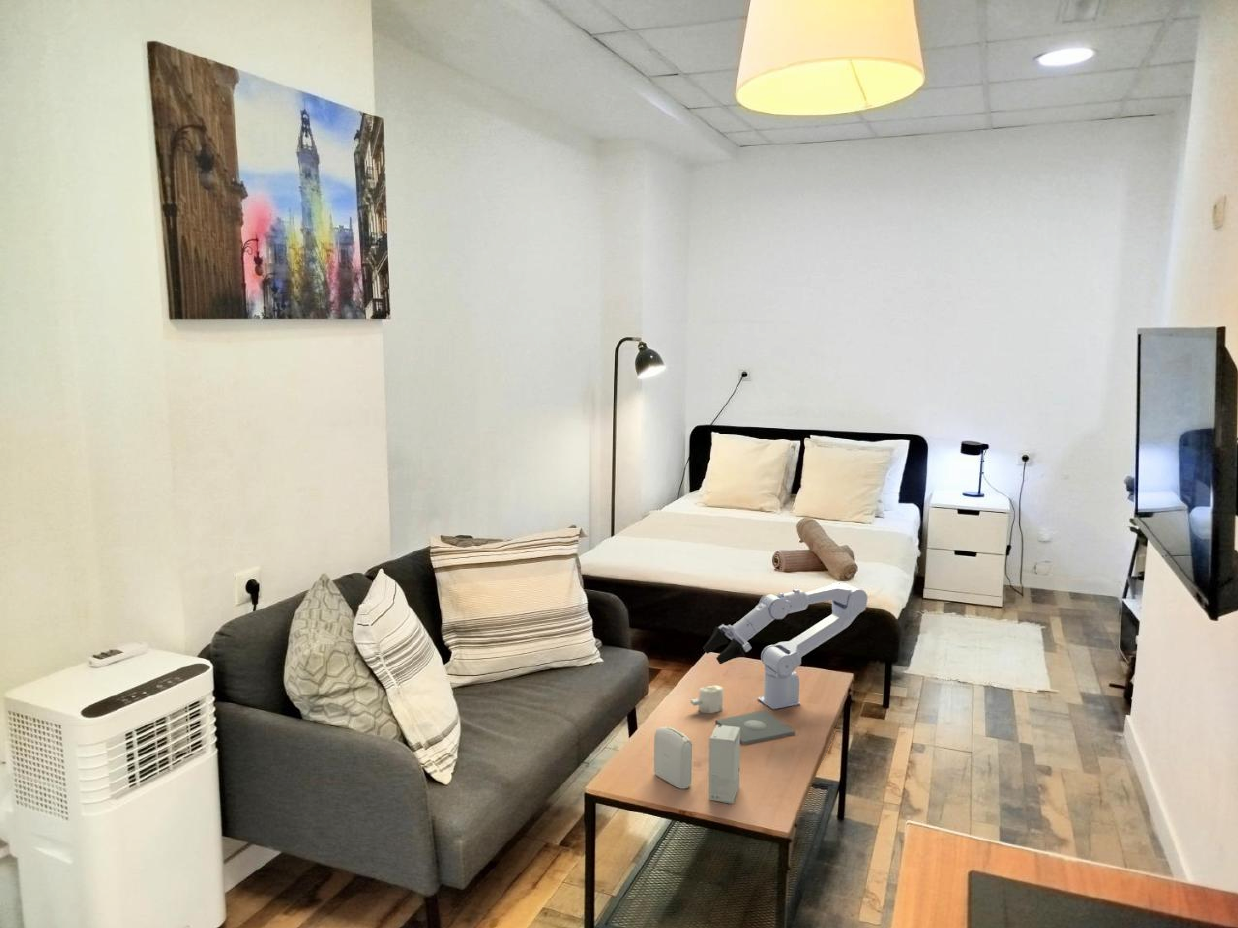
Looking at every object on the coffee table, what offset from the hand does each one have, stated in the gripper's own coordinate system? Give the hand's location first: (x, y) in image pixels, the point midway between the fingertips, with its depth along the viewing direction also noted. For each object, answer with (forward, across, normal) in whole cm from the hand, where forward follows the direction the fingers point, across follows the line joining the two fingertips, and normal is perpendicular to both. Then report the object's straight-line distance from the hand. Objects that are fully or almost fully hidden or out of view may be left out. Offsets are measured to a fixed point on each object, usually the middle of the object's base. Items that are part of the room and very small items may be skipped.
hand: (711, 655), depth 238 cm
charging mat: (+3, +14, +17) cm, 22 cm away
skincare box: (+23, +40, +3) cm, 47 cm away
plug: (+9, -1, +14) cm, 17 cm away
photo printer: (+30, +31, -2) cm, 43 cm away
